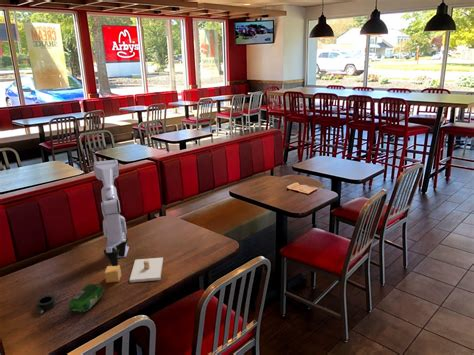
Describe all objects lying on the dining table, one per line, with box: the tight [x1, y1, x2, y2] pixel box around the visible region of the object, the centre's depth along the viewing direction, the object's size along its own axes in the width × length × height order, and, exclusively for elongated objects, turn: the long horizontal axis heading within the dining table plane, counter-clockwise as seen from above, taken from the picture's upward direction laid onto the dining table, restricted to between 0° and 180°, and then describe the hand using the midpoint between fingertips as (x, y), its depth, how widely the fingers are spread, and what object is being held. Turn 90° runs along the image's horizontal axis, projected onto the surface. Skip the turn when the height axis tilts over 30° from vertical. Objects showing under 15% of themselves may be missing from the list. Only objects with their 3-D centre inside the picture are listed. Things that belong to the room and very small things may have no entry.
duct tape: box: [35, 293, 57, 315], centre depth 139 cm, size 8×10×3 cm
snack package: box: [68, 283, 105, 314], centre depth 139 cm, size 7×16×5 cm, turn 167°
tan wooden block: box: [104, 264, 122, 283], centre depth 155 cm, size 5×5×4 cm
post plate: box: [129, 257, 164, 283], centre depth 160 cm, size 16×12×4 cm
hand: (118, 260), depth 152 cm, fingers open, 7 cm apart
